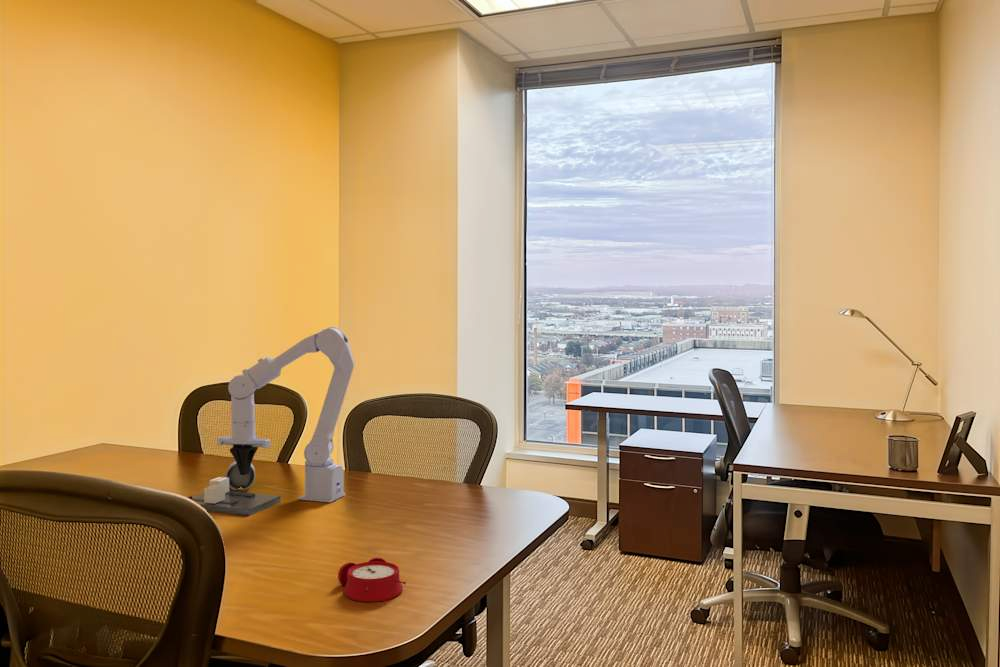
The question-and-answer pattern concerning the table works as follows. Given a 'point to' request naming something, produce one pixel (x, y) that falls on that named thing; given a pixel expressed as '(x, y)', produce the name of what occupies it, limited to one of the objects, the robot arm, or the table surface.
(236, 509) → the console
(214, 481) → the fader
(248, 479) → the ceramic mug
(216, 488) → the block
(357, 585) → the alarm clock
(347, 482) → the table surface
